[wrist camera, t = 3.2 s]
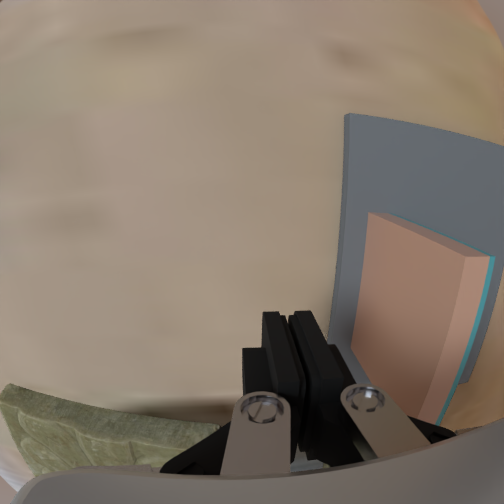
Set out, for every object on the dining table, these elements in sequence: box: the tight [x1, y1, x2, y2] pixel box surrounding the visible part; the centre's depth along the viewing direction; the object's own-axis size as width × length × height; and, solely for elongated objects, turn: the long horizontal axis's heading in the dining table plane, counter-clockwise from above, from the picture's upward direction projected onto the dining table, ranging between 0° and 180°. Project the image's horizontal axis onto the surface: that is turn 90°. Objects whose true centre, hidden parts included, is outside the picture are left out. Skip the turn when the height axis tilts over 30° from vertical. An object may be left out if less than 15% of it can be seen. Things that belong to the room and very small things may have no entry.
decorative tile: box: [0, 384, 220, 477], centre depth 21 cm, size 19×20×4 cm
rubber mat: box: [327, 113, 504, 384], centre depth 18 cm, size 18×13×1 cm
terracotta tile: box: [350, 212, 496, 426], centre depth 13 cm, size 8×2×8 cm, turn 179°
